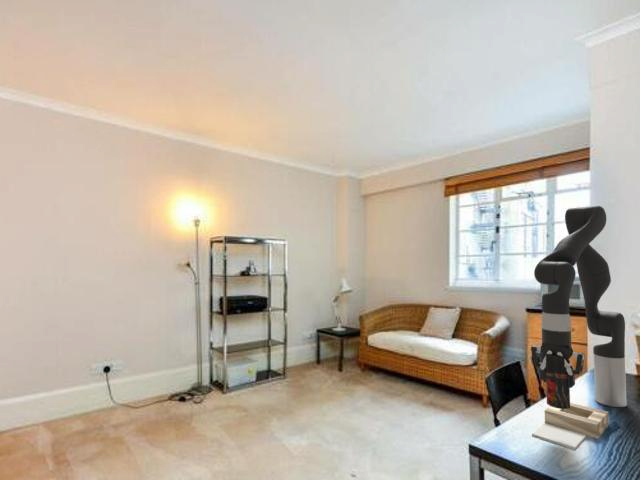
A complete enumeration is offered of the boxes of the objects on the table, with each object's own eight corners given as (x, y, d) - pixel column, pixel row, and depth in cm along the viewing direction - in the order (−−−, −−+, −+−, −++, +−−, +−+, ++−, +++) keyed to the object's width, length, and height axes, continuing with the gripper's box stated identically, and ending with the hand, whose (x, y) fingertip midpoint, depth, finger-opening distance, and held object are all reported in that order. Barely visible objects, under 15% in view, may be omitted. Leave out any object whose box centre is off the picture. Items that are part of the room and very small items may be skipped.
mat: (545, 424, 120) (544, 422, 120) (586, 437, 112) (586, 435, 112) (532, 435, 112) (532, 433, 112) (575, 449, 104) (575, 447, 104)
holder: (559, 411, 130) (558, 399, 131) (609, 424, 120) (608, 411, 120) (544, 422, 121) (544, 410, 121) (597, 438, 111) (597, 424, 111)
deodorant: (573, 409, 109) (572, 357, 110) (551, 408, 110) (549, 356, 111) (564, 401, 115) (563, 352, 115) (543, 400, 116) (542, 351, 117)
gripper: (587, 329, 111) (589, 387, 110) (534, 323, 121) (536, 376, 121) (580, 333, 106) (582, 394, 105) (525, 326, 116) (527, 381, 116)
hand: (557, 384), depth 113 cm, fingers closed on deodorant, 6 cm apart
